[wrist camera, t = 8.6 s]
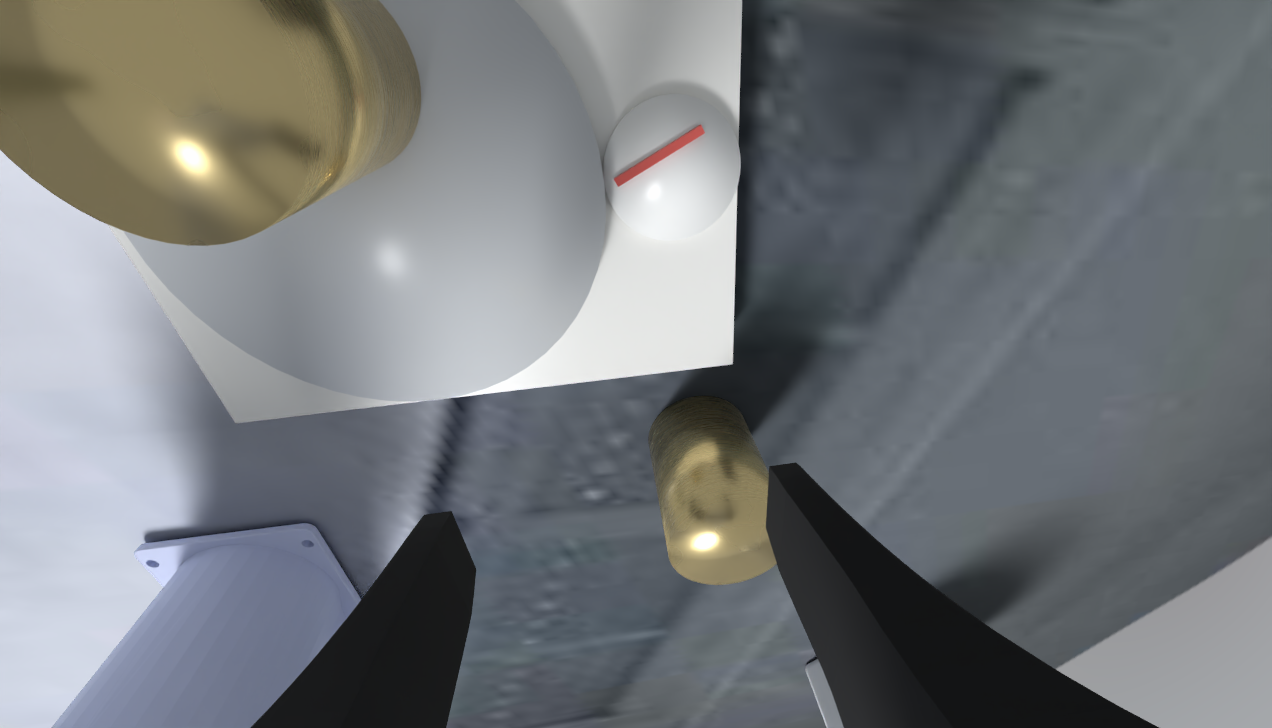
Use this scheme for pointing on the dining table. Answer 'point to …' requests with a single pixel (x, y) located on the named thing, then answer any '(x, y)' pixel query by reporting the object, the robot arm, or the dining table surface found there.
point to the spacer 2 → (711, 491)
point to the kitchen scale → (495, 221)
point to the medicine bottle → (823, 695)
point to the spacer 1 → (202, 107)
